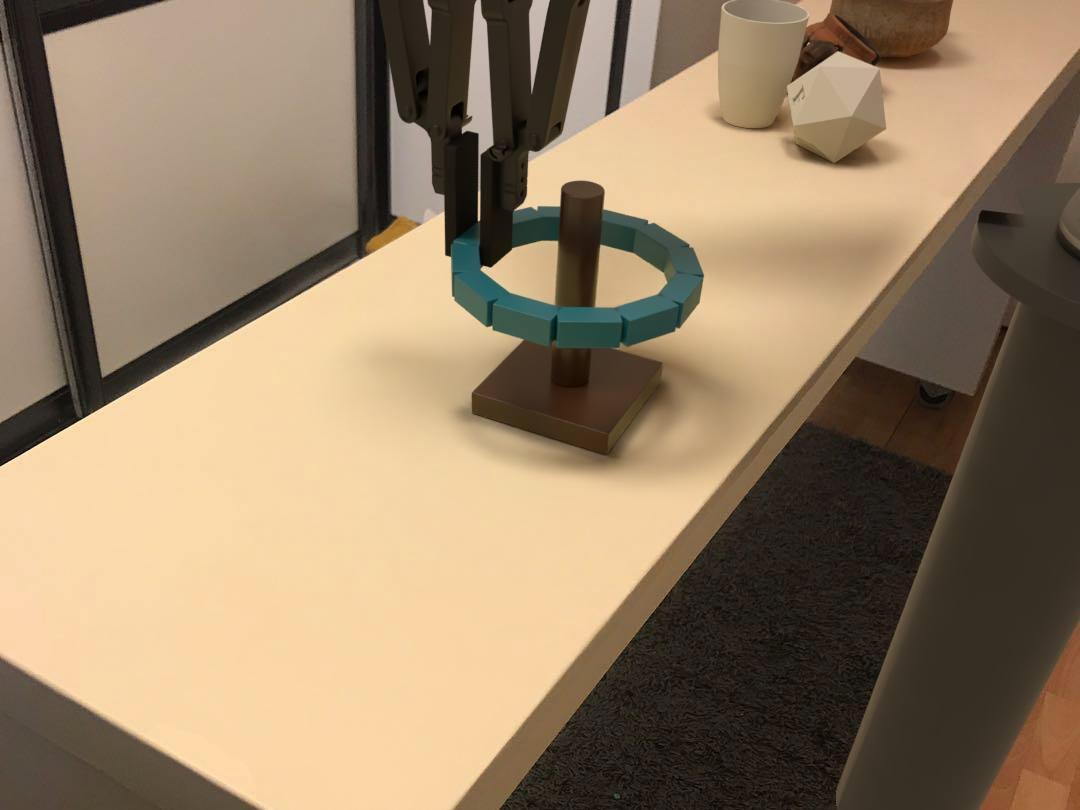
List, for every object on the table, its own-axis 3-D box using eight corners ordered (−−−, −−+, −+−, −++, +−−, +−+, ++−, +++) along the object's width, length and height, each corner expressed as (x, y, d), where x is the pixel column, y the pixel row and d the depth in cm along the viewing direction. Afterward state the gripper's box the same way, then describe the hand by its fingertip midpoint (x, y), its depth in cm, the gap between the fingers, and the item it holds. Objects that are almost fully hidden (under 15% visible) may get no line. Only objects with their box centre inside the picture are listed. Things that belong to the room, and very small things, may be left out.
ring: (728, 265, 65) (733, 240, 64) (643, 375, 55) (647, 348, 54) (518, 211, 69) (520, 187, 68) (405, 305, 59) (404, 278, 58)
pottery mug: (779, 73, 118) (831, 5, 114) (842, 129, 118) (897, 63, 113) (750, 72, 108) (806, -2, 104) (819, 134, 108) (878, 62, 103)
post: (660, 382, 69) (688, 177, 60) (606, 455, 62) (628, 239, 54) (535, 346, 71) (543, 145, 62) (471, 413, 65) (470, 200, 56)
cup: (799, 115, 107) (820, 7, 101) (773, 140, 102) (793, 28, 95) (723, 99, 110) (739, -7, 103) (694, 122, 104) (708, 12, 98)
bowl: (838, 5, 134) (880, -79, 126) (938, 58, 132) (985, -24, 125) (795, 39, 121) (838, -52, 114) (904, 97, 119) (955, 9, 112)
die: (798, 132, 105) (766, 55, 98) (890, 95, 102) (864, 12, 94) (809, 195, 101) (776, 120, 94) (905, 158, 98) (879, 77, 90)
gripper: (297, -245, 47) (339, 248, 63) (599, -211, 43) (564, 310, 59) (387, -255, 53) (405, 203, 68) (664, -226, 48) (616, 256, 64)
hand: (478, 252), depth 63 cm, fingers closed on ring, 2 cm apart
